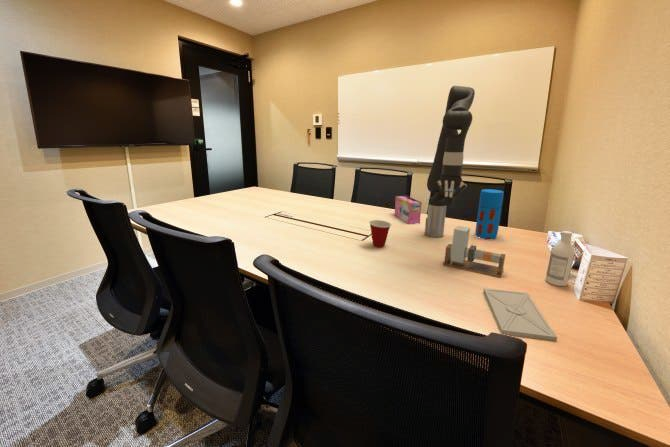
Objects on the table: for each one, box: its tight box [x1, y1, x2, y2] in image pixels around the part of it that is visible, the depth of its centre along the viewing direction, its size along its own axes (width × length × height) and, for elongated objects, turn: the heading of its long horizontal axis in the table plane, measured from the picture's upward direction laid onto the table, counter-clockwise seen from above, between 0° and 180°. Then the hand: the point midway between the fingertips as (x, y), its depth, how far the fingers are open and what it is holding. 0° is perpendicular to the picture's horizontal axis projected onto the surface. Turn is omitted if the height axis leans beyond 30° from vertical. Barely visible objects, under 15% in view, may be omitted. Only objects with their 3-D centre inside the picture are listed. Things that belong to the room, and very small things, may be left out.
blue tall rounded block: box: [474, 188, 505, 240], centre depth 165 cm, size 11×11×25 cm
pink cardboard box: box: [394, 194, 423, 225], centre depth 201 cm, size 24×8×14 cm, turn 13°
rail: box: [442, 243, 506, 279], centre depth 129 cm, size 22×9×8 cm, turn 57°
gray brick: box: [466, 244, 477, 262], centre depth 129 cm, size 2×5×5 cm, turn 147°
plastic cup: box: [368, 219, 392, 248], centre depth 154 cm, size 11×11×12 cm
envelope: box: [482, 287, 558, 342], centre depth 97 cm, size 24×2×14 cm
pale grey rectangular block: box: [451, 225, 471, 263], centre depth 131 cm, size 5×6×14 cm
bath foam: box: [545, 230, 575, 287], centre depth 115 cm, size 7×7×20 cm
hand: (448, 205), depth 130 cm, fingers closed
